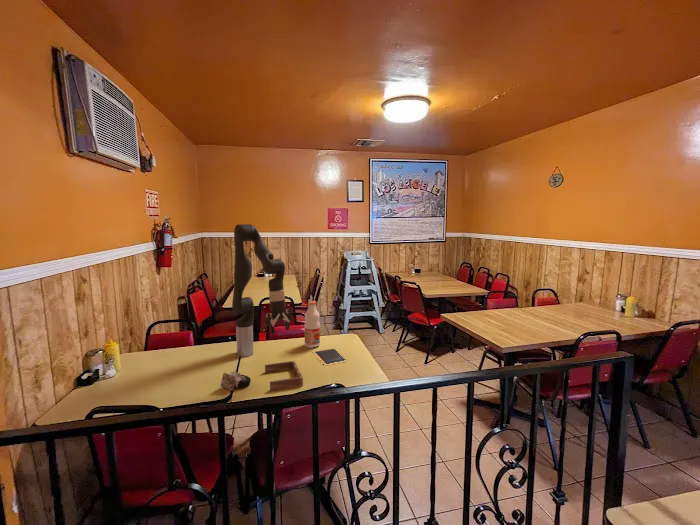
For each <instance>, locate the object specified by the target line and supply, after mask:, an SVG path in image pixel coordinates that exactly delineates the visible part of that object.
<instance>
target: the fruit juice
mask: <svg viewBox="0 0 700 525" xmlns="http://www.w3.org/2000/svg"><path fill="white" fill-rule="evenodd" d="M307 302H308V303H307V304H308V307H307V310H306V312H305V314H304V320H305V322H304V347H305V346H306V347H305V348H307V347H308V348H307V349H314V348H313V347H317V346H319V347H320V346H321V332H320V331H321V323H320V316H321V315H320V312H319V311H318V310H317V306H316V305H317V301H316V300H309V301H307ZM317 348H318V347H317Z"/></svg>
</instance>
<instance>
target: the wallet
mask: <svg viewBox="0 0 700 525" xmlns="http://www.w3.org/2000/svg"><path fill="white" fill-rule="evenodd" d="M337 351H338V350H337ZM337 351H336V349H335V348H330V349H323V350H318V351H314V352H315V353H314V354H315V355H316V356H317V357H318V358H319V359H320V361H321V362H322V363H326V364H330V363H334V362H340V361H344V360H345V359H346V358H345V357H344V356H343V355H342V354H341V353H340V352H339V351H338V352H339V353H340V354H341V355H342V356H343V357H344V358H345V359H344V358H343V357H342V356H341V355H340V354H339V353H338V352H337ZM320 361H319V362H320ZM321 362H320V363H321Z"/></svg>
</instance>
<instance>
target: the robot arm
mask: <svg viewBox="0 0 700 525" xmlns="http://www.w3.org/2000/svg"><path fill="white" fill-rule="evenodd" d="M233 237H234V239H233V240H234V241H233V242H234V270H233V271H234V273H233V276H234V278H233V279H234V282H233V284H234V285H233V293H232V304H231V306H232V313H233V315H235V316H240V315H242V316H241V317H240V318H238V319H237V320H236V321H235V331H236V332H235V335H236V336H235V337H236V340H235V341H236V356H238V357H242V358H245V357H250V356H252V355H254V325H253V324H254V319H255V318H254V317H255V316H254V312H255V304H254V300H253V298H252V297H250V296H244V297H243V293H244V290H245V288H246V287H247V286H248V284H249V282H250V280H251V277H252V271H253V268H252V267H253V265H252V261H251V260H250V258H249V256H248V255H247V253H246V252H245V247H244V242H253V244H254V248H253V249H254V254H255V256H256V257H257V258H258V260H259V261H260V263H261V266H262V270H263V272H264V273H265V274H267V275H274V274H275V276H274V277H273V278H271V279H269V280H268V290H269V291H268V292H269V293H268V296H269V308H270V313H265V315H264V316H265V326H267V327H269V332H270V334H272V335H276V331H275V330H276V329H275V324H276V323H277V322H278V321H280V320H283V321H284V329H285V331H289V330H290V328H291V327H290V322H291V321H293V314H292V309H291V308H287V307H286V306H287V305H286V304H287V303H286V296H285V295H286V294H285V290H284V289H285V288H284V276H285V271H286V264H285V262H284V260H282V259H280V258H277V259H276V258H275V259H274V254H273V252H272V251H271V249H269V248H268V246H267V245H266V244H265V242H264V241H263V239H262V236H261V234H260V233H259V231H258V229H257V227H256V226H255V225H254V224H249V223H248V224H244V223H241V224H235V226H234V230H233Z"/></svg>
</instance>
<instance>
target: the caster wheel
mask: <svg viewBox="0 0 700 525" xmlns="http://www.w3.org/2000/svg"><path fill="white" fill-rule="evenodd" d="M251 380H252V379H251V377H250V376H247V375H246V374H245V375H244V374H241V373H240V372H238V371H230V372H229V373H226V372H223V374H222V378H221V382H220V384H219V387H221V388H224V389H226V390H229V389H232V390H231V392H232V391H234V388H235V387H236V388H246V387H249V386H250V385H251Z"/></svg>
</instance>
